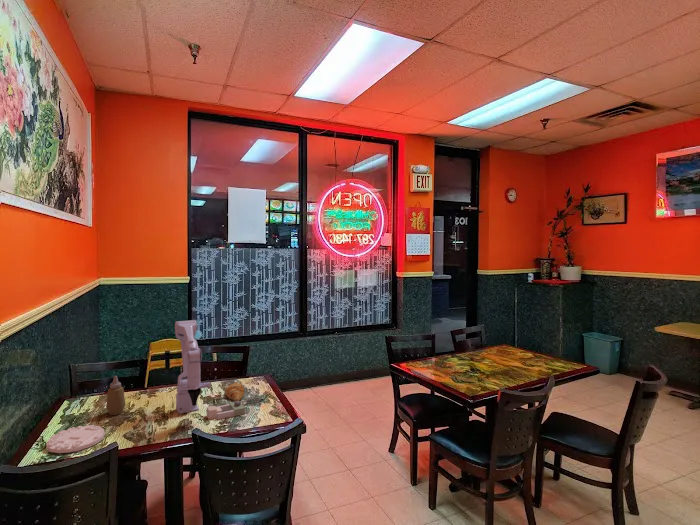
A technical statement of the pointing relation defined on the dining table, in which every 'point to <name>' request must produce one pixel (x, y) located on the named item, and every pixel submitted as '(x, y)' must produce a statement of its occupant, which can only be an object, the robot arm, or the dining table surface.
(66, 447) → the embossed medallion
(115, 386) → the squeeze bottle
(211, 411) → the pink stepped block
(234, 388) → the croissant
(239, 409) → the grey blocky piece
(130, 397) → the dining table surface
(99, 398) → the dining table surface
